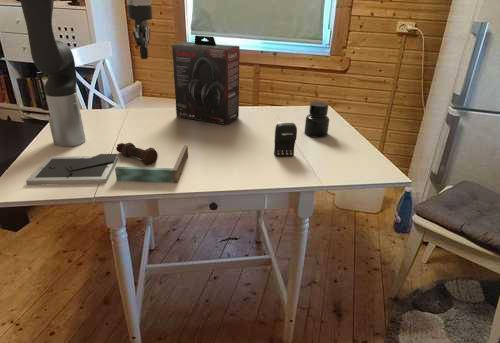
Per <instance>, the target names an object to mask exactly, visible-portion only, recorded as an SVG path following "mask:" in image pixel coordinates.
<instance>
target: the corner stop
mask: <svg viewBox="0 0 500 343" xmlns="http://www.w3.org/2000/svg"><path fill="white" fill-rule="evenodd" d="M188 147H189V146H188V145H187V144H183V146H182V148H181V150H180V152H179V155H178V157H177V160H176V162H175V164H174V166H173V168H171V167H170V168H169V167H168V168H167V167H164V168H163V167H141V166H140V167H139V166H137V167H136V166H115V167H114V172H115V178H116V182H135V183H162V184H163V183H164V184H165V183H166V184H167V183H168V184H178V183H179V180H180V179H181V175H182V173H183V171H184V168H185V166H186V163H187V160H188V158H189V148H188Z"/></svg>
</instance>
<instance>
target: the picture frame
mask: <svg viewBox="0 0 500 343" xmlns="http://www.w3.org/2000/svg"><path fill="white" fill-rule="evenodd" d="M118 161H119V156H118V153H99V154H97V155H81V156H77V155H76V156H74V155H73V156H72V155H71V156H68V155H67V156H48V157H47V158H46V159H44V160H43V162H42V163H41V164H40V165H39V167H37V168H36V170H34V171H33V172H32V174H30V176H29V177H28V178H27V179H26V181H25V182H26V185H27V186H42V185H43V184H44V185H43V186H47V185H46V184H58V185H97V184H99V185H100V184H104V185H105V184H107V182H108V181H109V178H110V176H111V175H112V173H113V171H114V170H115V168H116V165H117V163H118Z"/></svg>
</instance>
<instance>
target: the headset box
mask: <svg viewBox="0 0 500 343" xmlns="http://www.w3.org/2000/svg"><path fill="white" fill-rule="evenodd" d="M204 39H205V40H204ZM171 48H172V50H171V51H172V63H173V78H174V79H173V81H174V94H175V97H174V98H175V112H176V113H175V114H176V117H177V118H181V119H190V120H196V121H202V122H208V123H213V124H218V125H219V124H220V125H226V126H227V125H228V124H230V123H233V121H235V120H237V119H238V118H239V117H240V116H239V115H240V114H239V113H240V108H239V107H240V106H239V105H240V51H241V50H240V45H229V44H228V45H227V44H217V43H216V40H215V37H214V36H206V35H197V34H195V36H194V42H191V41H184V42H183V41H182V42H178V43H173V44H172V45H171Z"/></svg>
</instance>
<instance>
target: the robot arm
mask: <svg viewBox="0 0 500 343" xmlns="http://www.w3.org/2000/svg"><path fill="white" fill-rule="evenodd" d="M19 2H20V5H21V6H20V7H21V9H22V13H23V18H24V22H25V26H26V29H27V36H28V41H29V42H28V43H29V48H30V49H29V50H30V54H31V58H32V61H33V64H34V65H35V67H36V68H37V69H38V71H39V72H41V73H43V74H45V75H47V81H46V82H45V84H44V86H43V89H44V94H45V97H46V98H45V99H46V103H47V107H48V110H49V115H50V116H49V117H48V124H49V129H50V132H51V137H52V140H53V141H52V142H53V145H57V146H60V147H75V146H80V145H82V144H84V143H85V142H86V135H85V134H86V133H85V130H84V128H85V127H84V124H83V118H82V113H81V109H80V108H81V107H80V103H79V97H78V91H77V83H78V78H77V71H76V62H75V58H74V54H73V51H72V50H71V48H70V47H69V46H68V44H67V43H66V42H63V41H61V40H56V38H55V35H54V34H55V33H54V29H53V10H54V0H19ZM126 5H127V14H128V16H127V17H128V19H129V20H133V21H134V26H133V30H134V31H132V36H133V39H134V41H135V44H136V47H138V48H139V54H140V59H141V60H147V59H149V53H148V52H149V51H148V47H149V45H150V40H151V38H150V37H151V36H150V35H151V28H150V26H149V25H148V21H151V20H152V19H153V10H152V9H153V8H152V0H126Z"/></svg>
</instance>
